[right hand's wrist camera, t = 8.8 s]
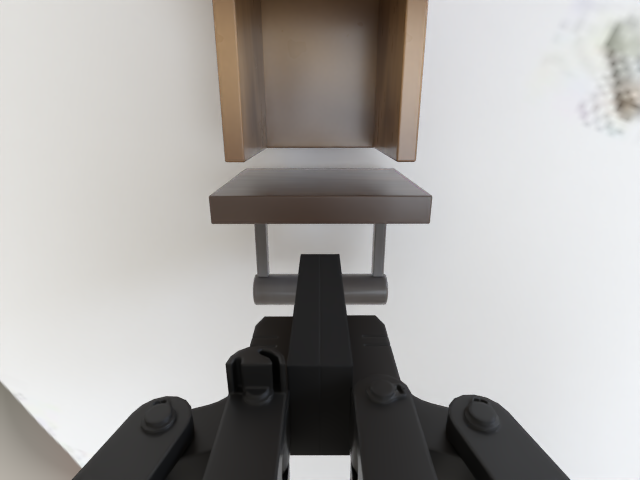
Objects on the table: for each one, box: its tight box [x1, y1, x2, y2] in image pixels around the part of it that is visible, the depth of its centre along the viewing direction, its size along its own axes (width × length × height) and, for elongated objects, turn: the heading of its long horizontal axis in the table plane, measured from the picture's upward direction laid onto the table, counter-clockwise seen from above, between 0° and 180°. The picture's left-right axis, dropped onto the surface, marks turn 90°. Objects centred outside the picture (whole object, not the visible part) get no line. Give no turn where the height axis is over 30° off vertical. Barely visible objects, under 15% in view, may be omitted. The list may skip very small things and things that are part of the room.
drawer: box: [209, 0, 432, 305], centre depth 18 cm, size 23×9×8 cm, turn 0°
